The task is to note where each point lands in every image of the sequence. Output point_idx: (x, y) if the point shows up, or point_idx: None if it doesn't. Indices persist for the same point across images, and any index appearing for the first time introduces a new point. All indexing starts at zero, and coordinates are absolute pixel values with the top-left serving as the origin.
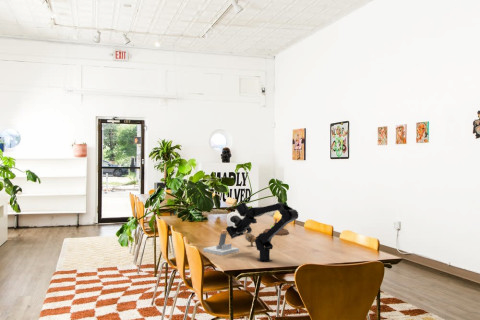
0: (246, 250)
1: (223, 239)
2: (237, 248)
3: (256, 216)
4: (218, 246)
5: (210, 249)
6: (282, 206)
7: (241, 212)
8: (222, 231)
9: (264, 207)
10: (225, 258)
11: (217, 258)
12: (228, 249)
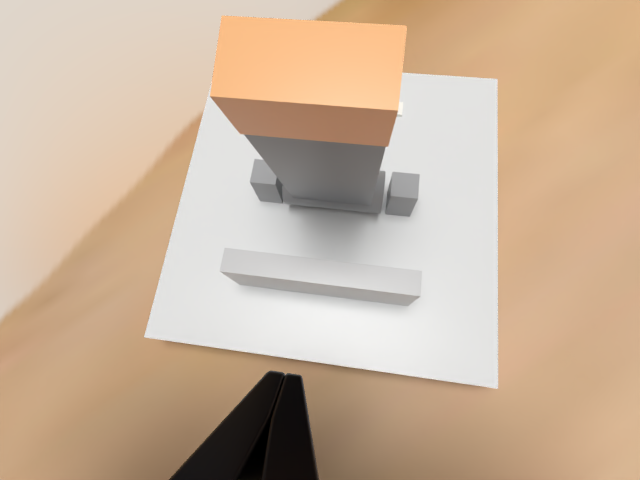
0: (613, 431)
1: (321, 177)
2: (470, 373)
3: None
4: (262, 188)
5: (206, 145)
6: None
7: None
8: (218, 81)
9: None
10: (49, 466)
11: (12, 383)
12: (332, 308)
